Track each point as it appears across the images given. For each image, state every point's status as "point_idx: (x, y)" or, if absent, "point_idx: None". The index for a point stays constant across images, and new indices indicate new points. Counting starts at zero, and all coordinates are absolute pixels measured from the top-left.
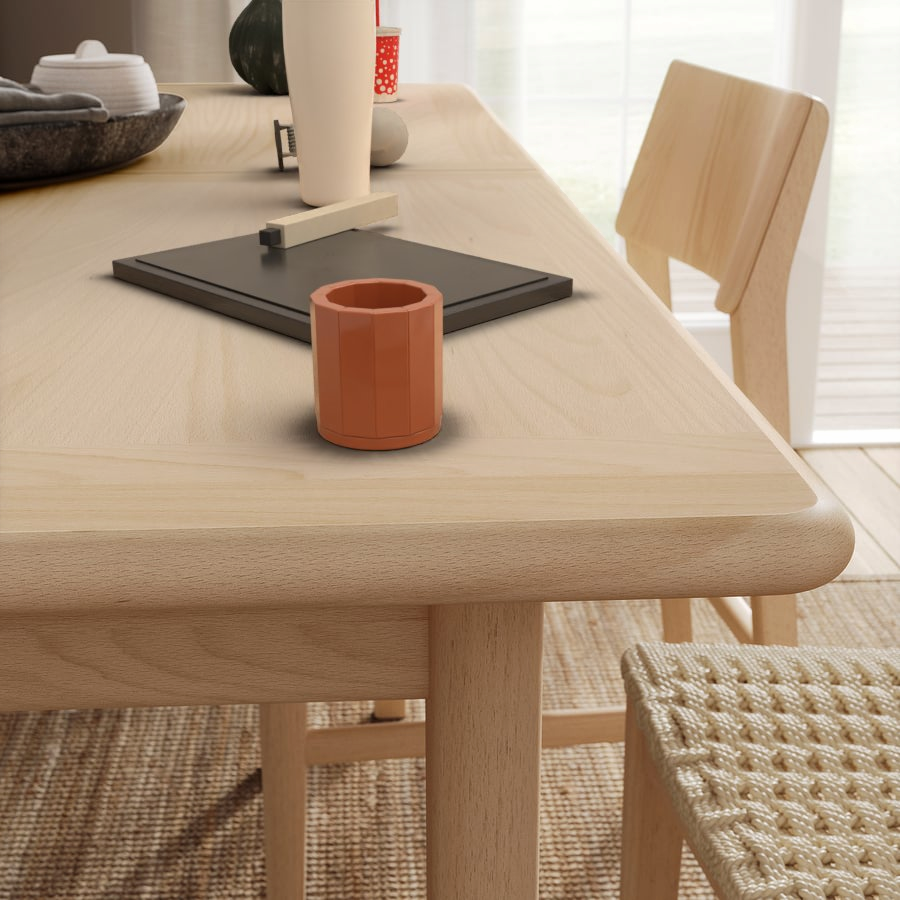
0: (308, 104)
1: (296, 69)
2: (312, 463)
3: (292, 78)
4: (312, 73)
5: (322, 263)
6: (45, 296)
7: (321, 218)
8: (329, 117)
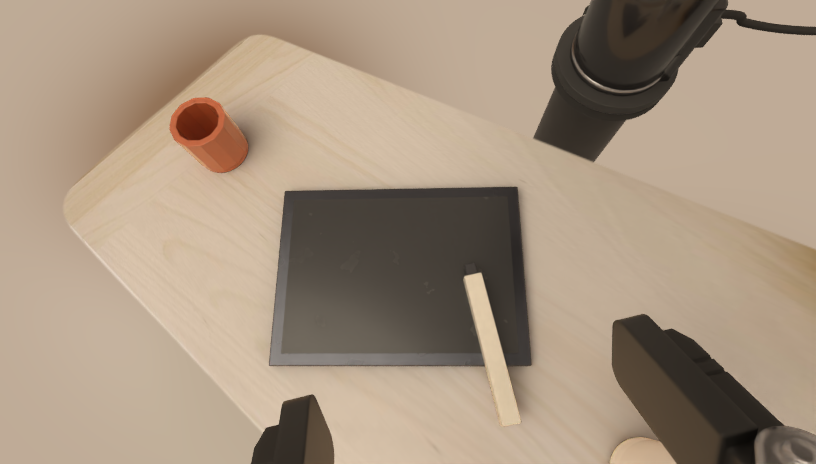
0: None
1: None
2: None
3: None
4: None
5: (412, 271)
6: (501, 145)
7: (474, 318)
8: (648, 458)
